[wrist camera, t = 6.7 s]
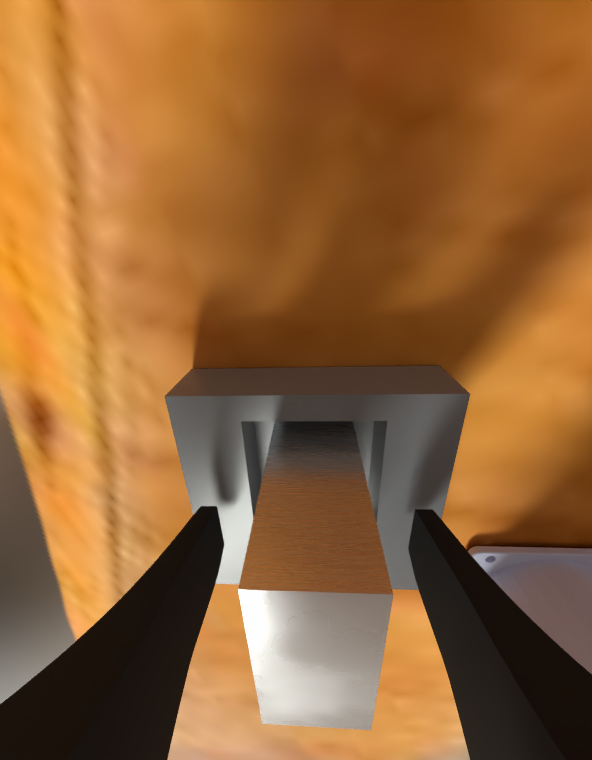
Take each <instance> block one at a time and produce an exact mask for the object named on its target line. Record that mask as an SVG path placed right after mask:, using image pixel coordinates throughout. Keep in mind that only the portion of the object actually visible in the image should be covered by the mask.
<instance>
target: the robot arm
mask: <svg viewBox="0 0 592 760" xmlns="http://www.w3.org/2000/svg"><path fill="white" fill-rule="evenodd" d="M223 549H224V539H223V534H222V529H221V524H220V518H219V513H218V508H217V506H201V507H200V508H199V509H198V510H197V511H196V512H195V514H194V515H193V516H192V517H191V519H190V520H189V521H188V523H187V524H186V525H185V526H184V528H183V529H182V530H181V531H180V533H179V534H178V535H177V536H176V538H175V539H174V540H173V541H172V542H171V544H170V545H169V546H168V547H167V548H166V549H165V551H164V552H163V553H162V554H161V555H160V557H159V558H158V559H157V560H156V561H155V562H154V564H153V565H152V566H151V567H150V568H149V569H148V570H147V571H146V572H145V573H144V575H143V576H142V577H141V578H140V579H139V580H138V581H137V582H136V583H135V584H134V586H133V587H132V588H131V589H130V590H129V591H128V592H127V593H126V594H125V595H124V596H123V597H122V598H121V599H120V600H119V601H118V602H117V603H116V604H115V605H114V606H113V607H112V608H111V609H110V610H109V611H108V612H107V613H106V614H105V615H104V616H103V617H102V618H101V619H100V620H99V621H98V622H97V623H95V624H94V625H93V626H92V627H91V628H90V629H89V630H88V631H87V632H86V633H85V634H83V635H82V636H81V637H80V638H79V639H78V640H77V641H76V642H75V643H74V644H73V645H71V646H70V647H69V648H68V649H67V650H66V651H65V652H63V653H62V654H61V655H60V656H59V657H58V658H56V659H55V660H54V661H53V662H52V663H50V664H49V665H48V666H47V667H46V668H44V669H43V670H42V671H41V672H40V673H39V674H37V675H36V676H35V677H34V678H32V679H31V680H30V681H29V682H27V683H26V684H25V685H24V686H23V687H21V688H20V689H19V690H18V691H17V692H16V693H14V694H13V695H12V696H10V697H9V698H8V699H6V700H5V701H4V702H3V703H1V704H0V760H167V758H168V753H169V749H170V744H171V740H172V736H173V731H174V727H175V723H176V718H177V714H178V710H179V705H180V701H181V697H182V693H183V689H184V685H185V681H186V677H187V672H188V668H189V665H190V661H191V658H192V654H193V651H194V648H195V644H196V641H197V638H198V635H199V632H200V629H201V626H202V623H203V620H204V617H205V614H206V611H207V608H208V605H209V601H210V598H211V595H212V592H213V589H214V586H215V583H216V580H217V576H218V572H219V568H220V564H221V559H222V554H223ZM408 550H409V555H410V559H411V563H412V568H413V572H414V576H415V580H416V583H417V586H418V589H419V592H420V595H421V598H422V600H423V603H424V606H425V609H426V612H427V615H428V618H429V621H430V623H431V626H432V629H433V632H434V635H435V638H436V641H437V644H438V646H439V649H440V652H441V655H442V658H443V661H444V664H445V667H446V670H447V674H448V677H449V680H450V684H451V688H452V691H453V695H454V699H455V702H456V706H457V710H458V714H459V717H460V721H461V725H462V729H463V733H464V737H465V741H466V745H467V749H468V752H469V756H470V760H592V548H547V547H501V546H475V547H472V548H470V549H469V551H467V550H466V549H465V548H464V546H463V545H462V544H461V543H460V542H459V540H458V539H457V538H456V537H455V536H454V535H453V533H452V532H451V531H450V530H449V528H448V527H447V526H446V525H445V524H444V522H443V521H442V520H441V519H440V517H439V516H438V515H437V514H436V512H435V511H434V510H433V509H415V512H414V517H413V523H412V529H411V535H410V540H409V546H408Z"/></svg>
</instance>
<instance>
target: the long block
mask: <svg viewBox="0 0 592 760" xmlns="http://www.w3.org/2000/svg"><path fill="white" fill-rule="evenodd" d="M238 591H239V597H240V602H241V608H242V614H243V619H244V625H245V630H246V636H247V641H248V647H249V652H250V658H251V664H252V669H253V675H254V680H255V686H256V691H257V697H258V702H259V708H260V714H261V719H262V724H278V725H294V726H311V727H328V728H344V729H361V730H371V727H372V721H373V715H374V709H375V703H376V697H377V691H378V685H379V679H380V673H381V667H382V660H383V654H384V648H385V642H386V636H387V630H388V624H389V618H390V612H391V606H392V599H393V591H392V587H391V583H390V578H389V574H388V570H387V566H386V561H385V557H384V553H383V548H382V544H381V540H380V536H379V531H378V527H377V523H376V518H375V514H374V510H373V506H372V501H371V497H370V493H369V489H368V484H367V480H366V476H365V471H364V467H363V463H362V459H361V454H360V450H359V446H358V441H357V437H356V433H355V429H354V424H353V421H275V422H274V427H273V431H272V436H271V440H270V445H269V450H268V454H267V459H266V464H265V468H264V473H263V477H262V482H261V487H260V491H259V496H258V500H257V505H256V510H255V514H254V519H253V523H252V528H251V533H250V537H249V542H248V546H247V551H246V556H245V560H244V565H243V570H242V574H241V579H240V583H239V588H238Z"/></svg>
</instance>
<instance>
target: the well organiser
mask: <svg viewBox="0 0 592 760" xmlns="http://www.w3.org/2000/svg"><path fill="white" fill-rule="evenodd" d="M469 397H470V393H469V392H468V391H467V390H465V389H464V388H463V387H462V386H461V385H460V384H459V383H458V382H457V381H456V380H455V379H454V378H452V377H451V376H450V375H449V374H448V373H447V372H446V371H445V370H444V369H443V368H442V367H441V366H439V365H428V366H356V367H284V368H212V369H191V370H190V371H189V372H188V373H187V374H186V375H185V376H184V377H183V378H182V379H181V380H180V381H179V382H178V383H177V384H176V385H175V386H174V387H173V389H172V390H171V391H170V392H169V393H168V394H167V395H166V396H165V400H166V404H167V408H168V412H169V416H170V420H171V424H172V429H173V433H174V437H175V441H176V445H177V449H178V453H179V457H180V462H181V466H182V470H183V474H184V478H185V482H186V486H187V491H188V495H189V499H190V503H191V507H192V511H193V515H194V514H195V512H196V511H197V510H198V509H199V508H200V507H201V506H217V508H218V513H219V518H220V524H221V529H222V534H223V539H224V549H223V554H222V559H221V564H220V568H219V572H218V576H217V580H216V583H215V584H239V583H240V579H241V574H242V570H243V565H244V560H245V556H246V551H247V546H248V542H249V537H250V533H251V528H252V523H253V519H254V514H255V510H256V505H257V500H258V496H259V491H260V487H261V482H262V477H263V473H264V468H265V464H266V459H267V454H268V450H269V445H270V440H271V436H272V431H273V427H274V422H275V421H353V424H354V429H355V433H356V437H357V441H358V446H359V450H360V454H361V459H362V463H363V467H364V471H365V476H366V480H367V484H368V489H369V493H370V497H371V501H372V506H373V510H374V514H375V518H376V523H377V527H378V531H379V536H380V540H381V544H382V548H383V553H384V557H385V561H386V566H387V570H388V574H389V578H390V583H391V587H392V589H409V590H419V589H418V586H417V583H416V580H415V576H414V572H413V568H412V563H411V559H410V555H409V550H408V546H409V540H410V535H411V529H412V523H413V517H414V512H415V509H433V510H434V511H435V512H436V514H437V515H438V516H439V517H440V519H442V514H443V510H444V506H445V501H446V497H447V493H448V488H449V484H450V479H451V475H452V471H453V466H454V462H455V458H456V453H457V449H458V445H459V440H460V436H461V431H462V427H463V423H464V418H465V414H466V410H467V405H468V401H469Z"/></svg>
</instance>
